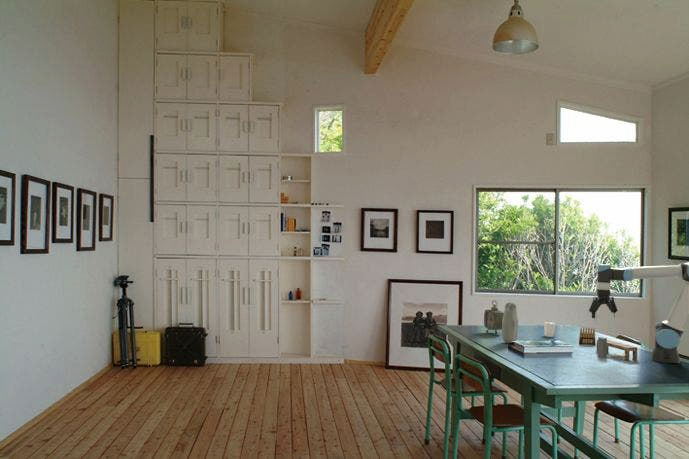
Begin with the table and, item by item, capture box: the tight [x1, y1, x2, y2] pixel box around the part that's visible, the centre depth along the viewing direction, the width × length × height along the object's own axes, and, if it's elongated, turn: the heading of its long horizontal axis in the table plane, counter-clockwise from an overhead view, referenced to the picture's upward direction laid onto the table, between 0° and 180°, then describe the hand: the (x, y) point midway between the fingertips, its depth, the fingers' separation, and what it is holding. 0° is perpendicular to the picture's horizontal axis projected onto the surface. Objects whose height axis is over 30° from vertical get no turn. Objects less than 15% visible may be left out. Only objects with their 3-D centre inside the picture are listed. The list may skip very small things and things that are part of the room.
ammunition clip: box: [578, 326, 596, 346], centre depth 360 cm, size 11×2×12 cm, turn 87°
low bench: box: [595, 339, 638, 362], centre depth 325 cm, size 24×8×8 cm, turn 18°
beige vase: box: [501, 302, 519, 344], centre depth 355 cm, size 10×10×28 cm
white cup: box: [543, 321, 557, 338], centre depth 387 cm, size 8×8×10 cm
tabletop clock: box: [483, 300, 504, 336], centre depth 390 cm, size 14×9×25 cm, turn 17°
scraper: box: [597, 336, 625, 359], centre depth 324 cm, size 18×6×12 cm, turn 108°
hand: (603, 323), depth 322 cm, fingers open, 13 cm apart
